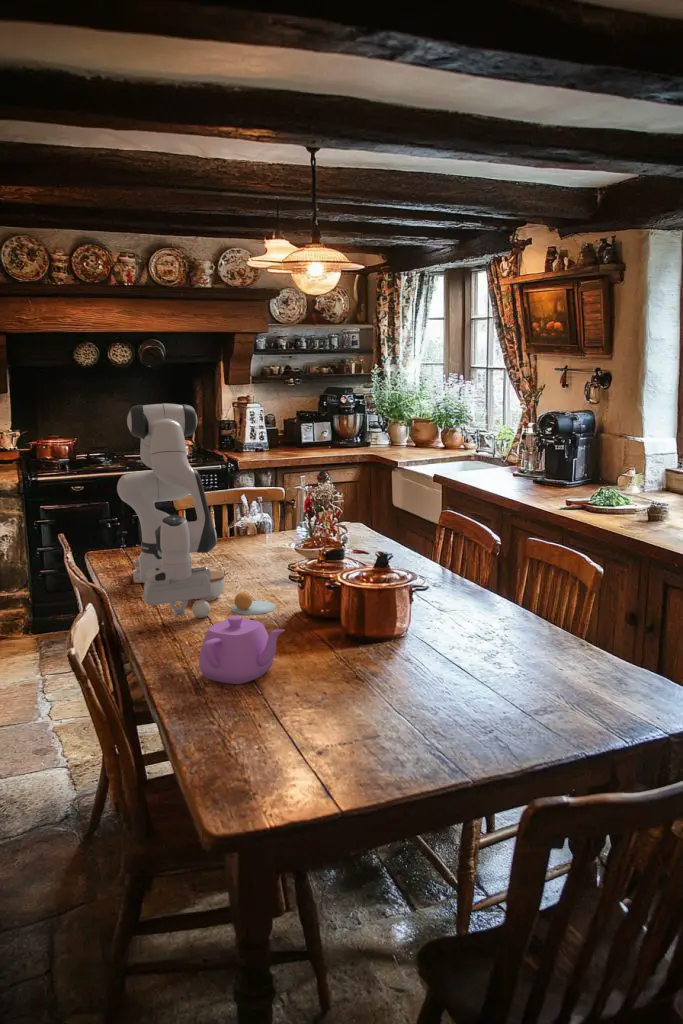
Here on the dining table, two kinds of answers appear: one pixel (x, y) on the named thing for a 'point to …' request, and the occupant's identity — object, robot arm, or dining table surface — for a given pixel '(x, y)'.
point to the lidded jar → (215, 585)
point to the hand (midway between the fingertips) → (179, 614)
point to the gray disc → (256, 608)
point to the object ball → (243, 601)
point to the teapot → (237, 650)
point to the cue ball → (201, 608)
